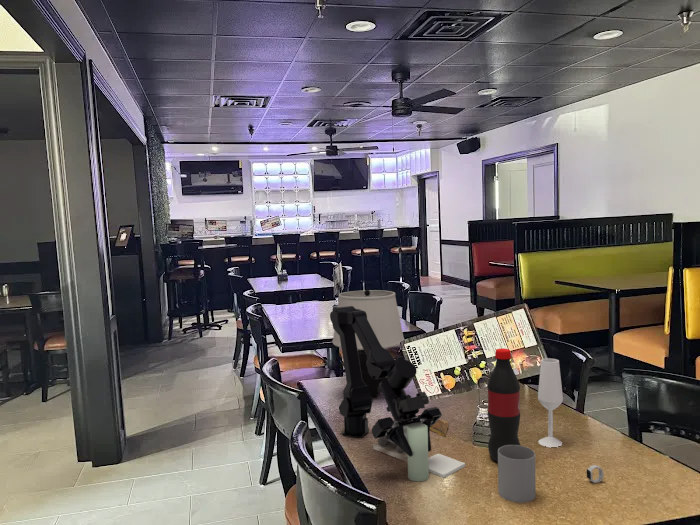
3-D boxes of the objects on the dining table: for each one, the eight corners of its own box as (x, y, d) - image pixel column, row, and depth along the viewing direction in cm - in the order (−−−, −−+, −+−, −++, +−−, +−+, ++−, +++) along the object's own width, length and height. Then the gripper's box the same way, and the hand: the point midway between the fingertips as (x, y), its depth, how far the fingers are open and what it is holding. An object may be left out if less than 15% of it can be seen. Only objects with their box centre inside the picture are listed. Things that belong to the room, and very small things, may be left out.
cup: (493, 486, 130) (492, 445, 129) (526, 483, 130) (526, 443, 130) (506, 504, 121) (506, 461, 120) (541, 501, 122) (541, 458, 121)
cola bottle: (521, 454, 147) (520, 346, 145) (520, 467, 139) (519, 353, 137) (489, 450, 150) (487, 344, 148) (486, 463, 142) (485, 352, 140)
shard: (445, 439, 160) (445, 433, 160) (420, 436, 162) (420, 430, 162) (449, 425, 170) (449, 420, 170) (425, 423, 173) (425, 418, 172)
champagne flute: (566, 442, 154) (566, 359, 152) (557, 449, 149) (557, 364, 147) (544, 436, 158) (543, 356, 157) (534, 443, 153) (533, 361, 152)
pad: (416, 466, 141) (416, 463, 141) (438, 456, 147) (438, 453, 147) (443, 477, 134) (443, 474, 134) (465, 466, 140) (465, 463, 140)
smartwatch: (600, 479, 131) (600, 463, 131) (605, 483, 129) (605, 467, 129) (586, 480, 131) (586, 464, 131) (591, 484, 129) (590, 468, 129)
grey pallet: (372, 448, 153) (372, 431, 153) (395, 438, 160) (395, 421, 160) (405, 461, 145) (404, 442, 144) (427, 449, 152) (427, 431, 151)
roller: (405, 479, 134) (404, 429, 133) (411, 470, 139) (410, 421, 138) (425, 483, 132) (424, 431, 131) (431, 473, 137) (429, 424, 136)
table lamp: (319, 396, 203) (315, 291, 200) (370, 380, 221) (367, 284, 218) (369, 413, 183) (366, 296, 180) (420, 394, 201) (418, 288, 199)
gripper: (375, 388, 133) (400, 447, 124) (437, 376, 142) (464, 431, 133) (361, 410, 141) (384, 467, 132) (420, 398, 149) (445, 450, 140)
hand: (420, 453), depth 134 cm, fingers closed on roller, 5 cm apart
